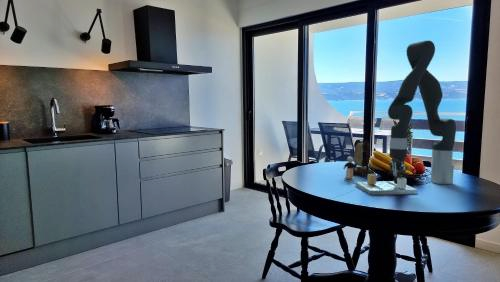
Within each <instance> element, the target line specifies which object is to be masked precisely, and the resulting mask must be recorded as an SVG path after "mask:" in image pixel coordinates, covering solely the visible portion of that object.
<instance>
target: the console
mask: <svg viewBox="0 0 500 282" xmlns="http://www.w3.org/2000/svg"><path fill="white" fill-rule="evenodd" d="M355 187H356V188H357V189H359V190H361V191H363V192H364V193H366V194H368V195H370V196H374V195H375V196H378V195H379V196H380V195H382V196H383V195H385V196H386V195H417V194H418V189H416V188H415V187H412V186H410V185H408V184H406V188H405V189H400V188H398V187H397V184H395V183H394V180H392V181H391V180H389V181H388V180H387V181H386V180H385V181H384V180H383V181H382V180H381V181H376V184H369V183H367V181H355Z"/></svg>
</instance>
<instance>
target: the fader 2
mask: <svg viewBox="0 0 500 282" xmlns="http://www.w3.org/2000/svg"><path fill="white" fill-rule="evenodd" d="M407 182H408V181H407V178H406V177H400V178H397V187H398V188H400V189H405V188H406V185H407Z"/></svg>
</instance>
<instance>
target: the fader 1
mask: <svg viewBox="0 0 500 282" xmlns="http://www.w3.org/2000/svg"><path fill="white" fill-rule="evenodd" d="M366 182H367V183H369V184H376V182H377V175H376V174H375V173H374V174H367V181H366Z"/></svg>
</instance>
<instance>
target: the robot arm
mask: <svg viewBox="0 0 500 282" xmlns="http://www.w3.org/2000/svg"><path fill="white" fill-rule="evenodd" d="M435 53H436V46H435V42H433V41H431V40H423V41H416V42H413V43H410V44H408V45H407V47H406V57H407V61H408V63H409V66H410V68H411V69H412V70H411V71H410V72H409V73H408V75H407V76H406V77H405V78H404V79H403V81H402V83H401V84H400V87H399V90H398V94H397V95H396V96H395V98H394V99H393V100H392V102H391V104H390V105H389V108H388V110H387V114H388V117H389V119H390V120H395V121H397V120H398V121H399V122H398V123H397V124H394V125H392V126H391V129H390V140H389V158H391V161H390V162H388V165H389V169H390V173H391V174H393V181H394V183H395V184H397V178H401V177H402V176H404V175H405V173H406V171H407V169H408V166H406V165H405V159H406V158H408V129H409V126H410V123H411V120H412V117H413V114H414V113H413V112H414V111H413V108H412V107H411V105H409V104H408V103H411V102H412V101H413V100H414V98H415V95H416V92H417V89H418V90H419V93H420V97H421V99H422V103H423V105H424V110H425V112H426V113H425V114H426V118H427V122H428V123H427V124H428V128H429V132H430V134H431V135H432V136H433V137H434V136H435V137H442V138H441V141H439V142H434V143H433V144H432V147H431V149H432V151H431V166H430V167H431V168H430V182H431V183H432V184H439V185H451V184H453V183H454V182H453V181H454V169H455V167H454V166H455V165H454V164H453V155H454V154H453V151H454V146H455V141H456V134H457V124H456V121H455V120H454V119H452V118H440V115H439V111H438V109H439V106H440V104H441V102H442V99H443V90H442V86H441V84H440V82H439V80H438V79H437V77H436V76H434V75H433V74H432V73H431V72H430V71H429V70H428V67H429V66H430V64H431V62H432V61H433V58H434V56H435Z"/></svg>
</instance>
